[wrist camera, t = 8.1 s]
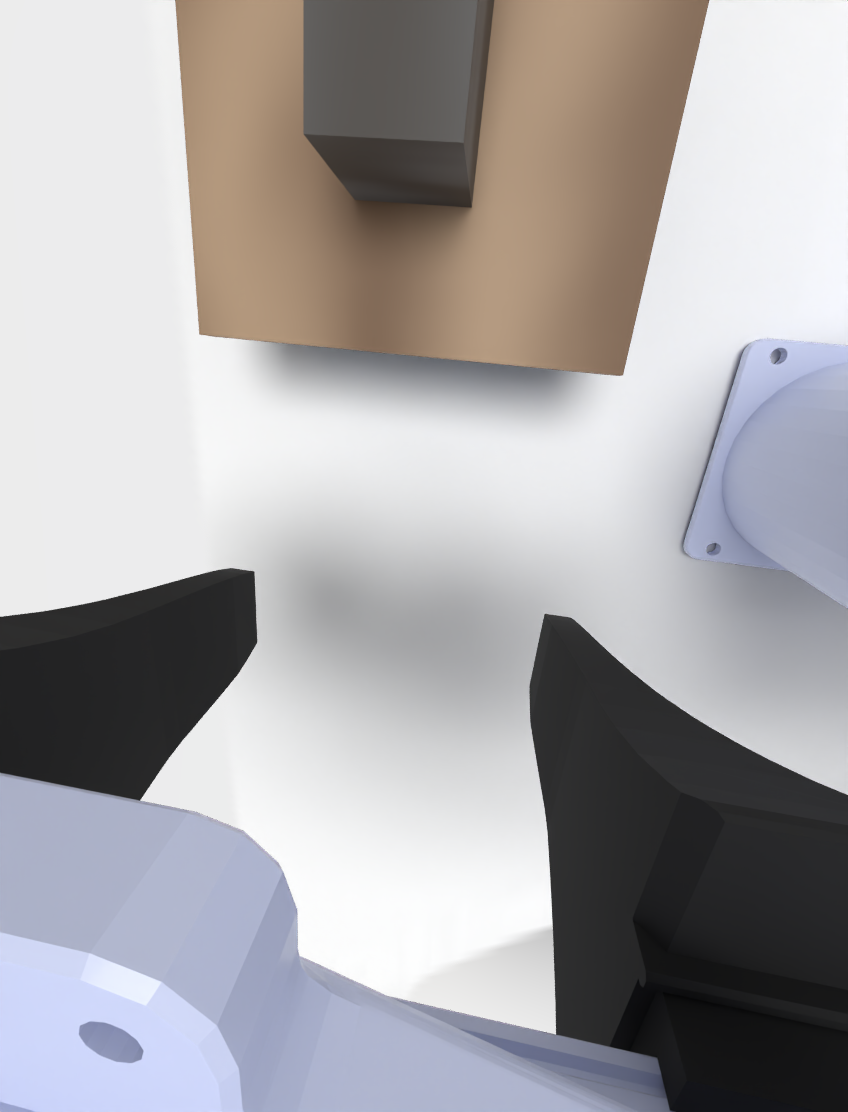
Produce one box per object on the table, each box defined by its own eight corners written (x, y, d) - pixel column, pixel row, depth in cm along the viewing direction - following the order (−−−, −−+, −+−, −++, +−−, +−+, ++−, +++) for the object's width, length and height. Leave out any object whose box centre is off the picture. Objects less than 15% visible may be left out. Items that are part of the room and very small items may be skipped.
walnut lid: (767, -297, 9) (983, -832, 5) (615, 375, 13) (667, 374, 9) (176, -277, 10) (-30, -701, 6) (214, 336, 14) (108, 321, 11)
